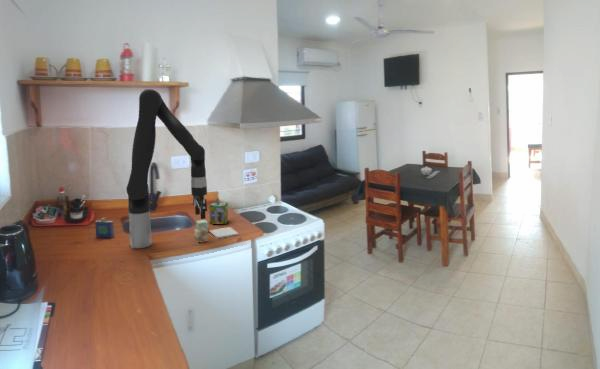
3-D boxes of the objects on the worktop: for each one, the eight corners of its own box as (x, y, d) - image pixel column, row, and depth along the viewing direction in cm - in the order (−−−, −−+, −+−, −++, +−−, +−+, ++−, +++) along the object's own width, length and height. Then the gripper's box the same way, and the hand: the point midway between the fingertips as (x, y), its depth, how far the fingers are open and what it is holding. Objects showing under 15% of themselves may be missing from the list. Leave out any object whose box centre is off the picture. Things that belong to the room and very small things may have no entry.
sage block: (199, 234, 197) (198, 223, 196) (196, 231, 201) (195, 220, 200) (208, 232, 200) (207, 222, 198) (205, 229, 204) (204, 219, 202)
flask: (115, 237, 189) (113, 217, 187) (112, 239, 186) (110, 219, 184) (98, 236, 189) (96, 216, 187) (94, 238, 187) (92, 218, 184)
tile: (217, 239, 190) (217, 237, 189) (209, 232, 199) (209, 230, 199) (238, 235, 196) (238, 233, 196) (230, 229, 206) (230, 227, 206)
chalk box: (225, 225, 212) (224, 200, 209) (209, 224, 212) (208, 200, 209) (228, 220, 221) (228, 196, 218) (213, 220, 221) (213, 196, 218)
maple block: (197, 243, 184) (197, 231, 182) (194, 240, 188) (194, 229, 186) (207, 241, 186) (206, 230, 185) (204, 238, 190) (203, 227, 189)
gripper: (187, 183, 185) (188, 214, 188) (195, 188, 173) (197, 221, 177) (201, 182, 189) (203, 212, 192) (211, 187, 177) (212, 219, 181)
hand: (200, 216), depth 184 cm, fingers open, 8 cm apart
